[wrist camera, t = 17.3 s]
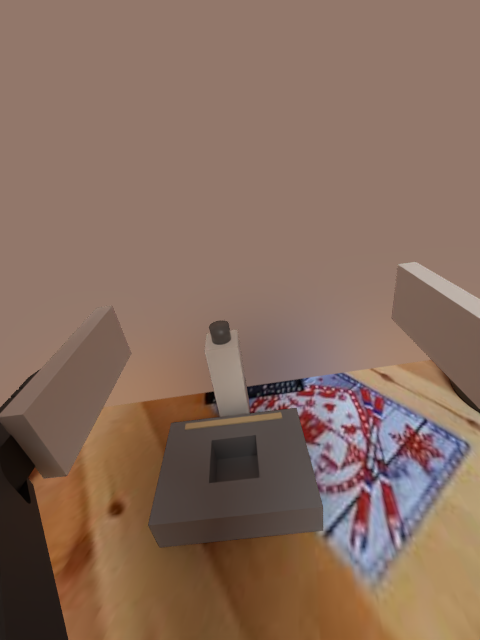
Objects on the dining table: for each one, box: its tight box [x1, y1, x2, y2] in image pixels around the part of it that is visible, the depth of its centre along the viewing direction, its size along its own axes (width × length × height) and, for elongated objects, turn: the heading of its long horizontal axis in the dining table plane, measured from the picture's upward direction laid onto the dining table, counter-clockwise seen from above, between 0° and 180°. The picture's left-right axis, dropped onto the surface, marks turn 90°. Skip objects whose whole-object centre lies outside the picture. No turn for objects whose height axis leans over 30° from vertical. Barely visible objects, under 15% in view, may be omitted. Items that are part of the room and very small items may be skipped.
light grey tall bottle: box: [204, 321, 250, 417], centre depth 39 cm, size 4×4×15 cm
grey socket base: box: [148, 408, 323, 547], centre depth 33 cm, size 16×12×4 cm
